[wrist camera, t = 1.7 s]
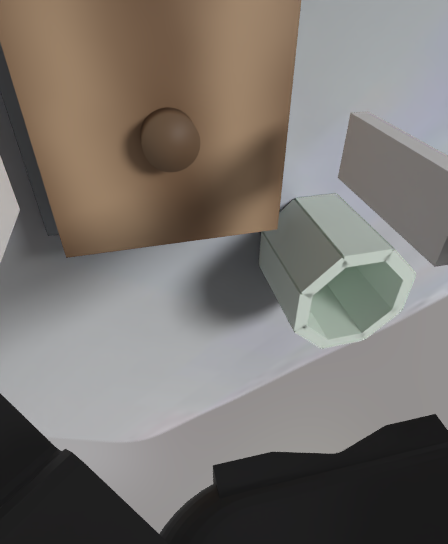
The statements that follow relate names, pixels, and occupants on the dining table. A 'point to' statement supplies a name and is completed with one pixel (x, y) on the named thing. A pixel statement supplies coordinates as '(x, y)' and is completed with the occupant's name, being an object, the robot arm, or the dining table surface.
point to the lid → (154, 114)
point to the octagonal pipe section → (333, 271)
